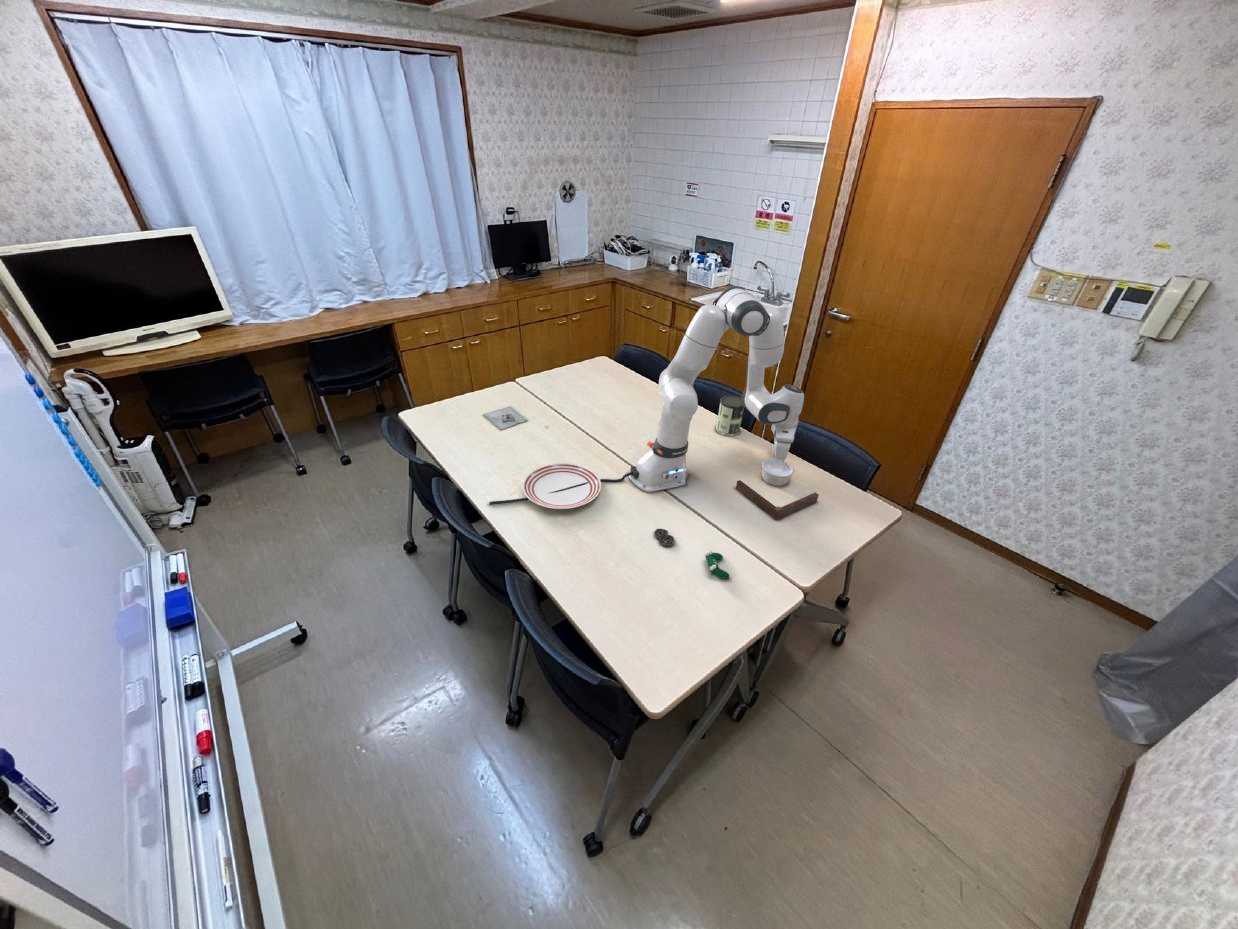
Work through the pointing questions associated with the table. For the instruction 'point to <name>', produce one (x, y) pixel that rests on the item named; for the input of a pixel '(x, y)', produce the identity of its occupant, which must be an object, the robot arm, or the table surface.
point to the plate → (561, 486)
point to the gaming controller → (715, 564)
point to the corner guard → (769, 507)
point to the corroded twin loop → (664, 537)
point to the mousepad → (505, 418)
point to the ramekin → (776, 472)
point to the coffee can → (730, 415)
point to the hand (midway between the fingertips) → (776, 457)
